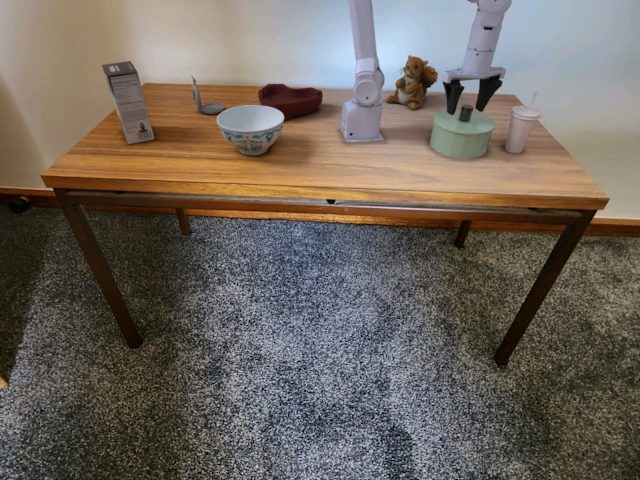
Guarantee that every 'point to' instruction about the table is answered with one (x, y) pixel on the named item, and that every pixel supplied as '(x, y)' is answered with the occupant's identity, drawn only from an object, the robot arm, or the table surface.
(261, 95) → the dark red heart-shaped dish
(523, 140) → the smoothie
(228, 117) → the chinaware
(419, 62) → the stuffed squirrel
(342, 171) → the table surface
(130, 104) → the coffee box
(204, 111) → the pocket watch
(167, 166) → the table surface
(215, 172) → the table surface
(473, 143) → the crock
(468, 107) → the lid
